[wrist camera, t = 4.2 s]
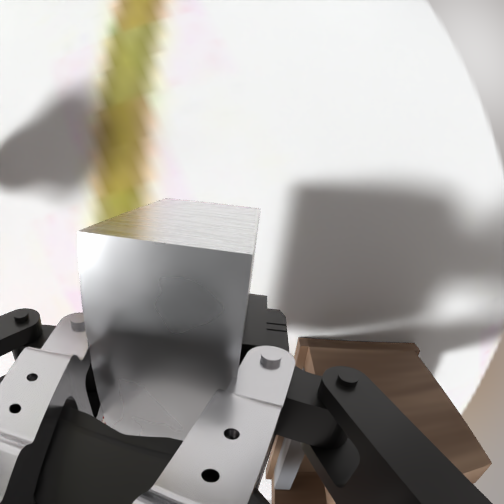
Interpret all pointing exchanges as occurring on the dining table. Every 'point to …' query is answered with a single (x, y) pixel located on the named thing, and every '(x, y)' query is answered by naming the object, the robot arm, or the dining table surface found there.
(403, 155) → the dining table surface
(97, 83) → the dining table surface
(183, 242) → the metal block
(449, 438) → the wooden holder
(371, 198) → the dining table surface
